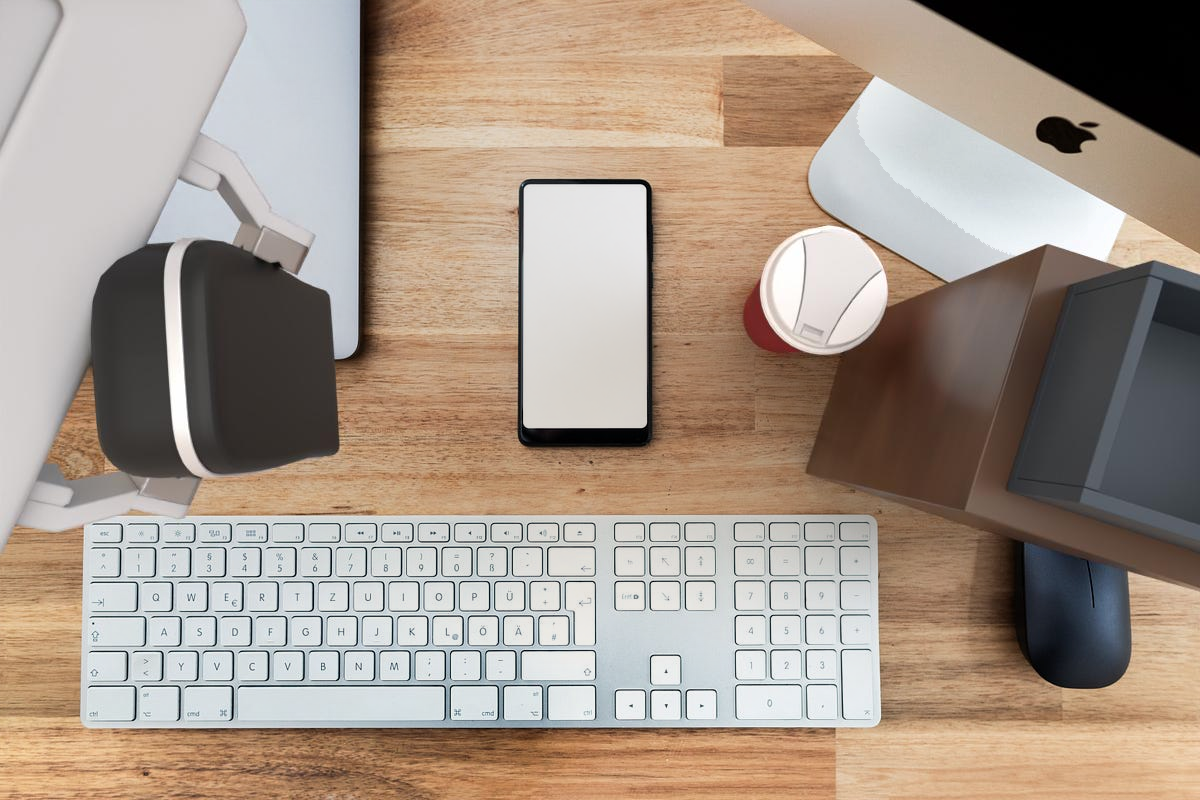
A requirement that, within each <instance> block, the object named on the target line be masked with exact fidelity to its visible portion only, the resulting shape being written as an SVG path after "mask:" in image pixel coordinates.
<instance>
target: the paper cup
mask: <svg viewBox="0 0 1200 800" xmlns="http://www.w3.org/2000/svg"><path fill="white" fill-rule="evenodd" d="M887 301H888V281H887V275H886V272H885V269H884V267H883V265H882V263H881V260H880V259H879V257H878V255H877V254H876V253H875V252H874V250H873V249H872V248H871V246H869V245H868V244H867V243H866V242H865V241H864V240H863V239H862V238H861V237H860V235H858V234H857V233H855V232H853V231H851V230H849V229H848V228H847V229H846V228H845V227H841V226H836V225H828V224H827V225H823V226H819V227H813V228H808V229H805V230H802V231H799V232H797V233H795V234H793V235H791V236H789V237H787V238H786V239H785V240H784V241H781V243H780V244H779V245H778V246H777V247H776V248H775V249H774V250H773V252H772V253H771V255H770V256H769V257H768V259H767V261H766V263H765V265H764V267H763V270H762V275H761V276H760V278H759V279H758V281H757V282H756V284H755V285H754V286H753V288H752V290H751V291H750V292H749V294H748V296H747V298H746V300H745V303H744V306H743V309H742V322H743V326H744V330H745V332H746V334H747V336H748V337H749V339H750V340H751V341H752V342H753V343H754V344H755V345H756V346H757V347H759V348H760V349H762V350H764V351H766V352H768V353H773V354H798V353H809V354H813V355H814V354H815V355H835V354H840V353H843V351H846V350H849V349H851V348H853V347H855V346H857V345H859V344H860V343H861V342H863V341H864V340H865V339H867V338H868V336H869V335H870V334H871V333H872V332H873V331H874V330H875V328H876V327H877V326H878V324H879V322H880V320H881V318H882V316H883V314H884V311H885V308H887V303H888V302H887Z"/></svg>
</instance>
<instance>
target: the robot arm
mask: <svg viewBox="0 0 1200 800" xmlns="http://www.w3.org/2000/svg"><path fill="white" fill-rule="evenodd" d="M246 19H247V18H246V16H245V15H244V12H243V9H242V8H241V5H240V2H239V1H238V0H0V557H1V556H2V554H3V552H4V551H5V548H6V546H7V543H8V541H9V539H10V537H11V535H12V533H13V531H14V528H15V527H16V526H18V527H22V528H29V529H33V530H34V529H35V530H39V531H46V532H50V533H55V534H57V533H61V532H64V531H67V530H71V529H75V528H80V527H81V526H82V527H83V526H86V525H91V524H93V523H94V524H95V523H98V522H102V521H104V520H108V519H112V518H115V517H119V516H123V515H126V514H129V513H130V512H131V510H133V511H138V512H142V513H147V514H152V515H157V516H161V517H166V518H171V519H175V520H182V519H186V516H187V514H188V513H189V510H190V508H191V507H192V503H193V501H194V498H195V496H196V494H197V492H198V489H199V487H200V484H201V482H202V480H203V478H204V477H199V476H188V477H174V478H144V477H138V476H133V475H130V474H127V473H125V472H122V471H121V470H119V471H118V470H117V471H114V472H113V471H112V472H108V473H103V474H98V475H91V476H87V477H81V478H76V479H71V480H67V478H66V476H65V475H64V472H63V471H62V469H61V467H60V466H59V464H57V463H53V462H48V461H47V458H48V456H49V455H50V452H51V449H52V448H53V445H54V443H55V441H56V439H57V437H58V435H59V432H60V430H61V429H62V426H63V425H64V422H65V420H66V418H67V416H68V413H69V411H70V409H71V407H72V405H73V403H74V401H75V399H76V396H77V394H78V392H79V390H80V388H81V385H82V384H83V382H84V379H85V377H86V375H87V373H88V371H89V369H90V366H92V352H91V318H92V302H93V297H94V294H95V291H96V288H97V285H98V282H99V279H100V277H101V275H102V274H103V273H104V272H105V271H106V270H107V269H108V268H109V267H110V266H111V265H112V264H113V263H115V262H116V261H117V260H118V259H120V258H121V257H123V256H126V255H128V254H130V253H132V252H134V251H136V250H138V249H139V248H143V247H145V246H146V245H147V244H149V241H150V239H151V237H152V235H153V232H154V230H155V228H156V226H157V224H158V221H159V220H160V218H161V216H162V213H163V212H164V210H165V207H166V206H167V205H166V204H167V202H168V200H169V199H170V196H171V194H172V192H173V190H174V188H175V186H176V184H177V181H178V180H179V181H181V182H183V183H186V184H188V185H191V186H194V187H196V188H198V189H202V190H204V191H208V192H214V191H217V193H218V194H219V195H220V197H221V198H222V199H223V201H224V202H225V203H226V205H227V206H228V207H229V209H230V210H231V212H232V213H233V215H234V216H235V217H236V219H238V221H239V222H241V223H240V225H239V227H238V229H237V232H236V234H235V236H234V239H233V241H232V245H234V246H237V247H239V248H242V249H244V250H246V251H249V252H250V253H251V254H252V255H254V256H256V257H258V258H260V259H262V260H265V261H267V262H269V263H271V264H273V265H275V266H277V267H279V268H281V269H283V270H285V271H286V272H288V273H290V274H292V275H294V276H295V275H296V276H298V275H299V273H300V272H301V269H302V267H303V265H304V262H305V261H306V258H307V257H308V254H309V252H310V249H311V247H312V246H313V243H314V241H315V239H316V237H317V235H316V234H315V233H314V232H313V231H310V230H309V229H308V228H304V227H303V226H301V225H298V224H296V223H295V222H293V221H290V220H289V219H287V218H285V217H283V216H281V215H279V214H277V213H275V212H274V211H271V210H272V206H271V204H270V202H269V201H268V199H267V198H266V196H265V195H264V193H263V192H262V190H261V188H260V187H259V185H258V184H257V182H256V181H255V179H254V178H253V176H252V174H251V173H250V171H249V170H248V169H247V167H246V166H245V164H244V162H243V161H242V159H241V158H240V156H239V155H238V153H237V152H236V151H235V150H233V149H232V148H230V147H229V146H226V145H224V144H223V143H221V142H219V141H218V140H215V139H214V138H212V137H210V136H208V135H206V134H205V133H202V132H201V130H202V128H203V126H204V124H205V122H206V120H207V117H208V115H209V114H210V111H211V109H212V107H213V105H214V102H215V100H216V98H217V96H218V94H219V92H220V90H221V88H222V85H223V83H224V81H225V79H226V77H227V74H228V72H229V70H230V68H231V66H232V64H233V62H234V60H235V57H236V55H237V53H238V51H239V49H240V47H241V45H242V44H243V42H244V39H245V36H246V33H247V29H248V25H247V20H246Z"/></svg>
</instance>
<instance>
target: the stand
mask: <svg viewBox="0 0 1200 800" xmlns="http://www.w3.org/2000/svg"><path fill="white" fill-rule="evenodd" d="M1125 268H1126V267H1125ZM1125 268H1124V267H1122V266H1118V265H1116V264H1113V263H1109V262H1107V261H1103V260H1100V259H1097V258H1093V257H1091V256H1087V255H1084V254H1082V253H1078V252H1075V251H1071V250H1069V249H1065V248H1063V247H1060V246H1056V245H1053V244H1050V243H1045V244H1043V245H1040V246H1038V247H1036V248H1033V249H1030V250H1028V251H1025V252H1022V253H1021V254H1017V255H1015V256H1013V257H1009V258H1008V259H1005V260H1003V261H1000V262H998V263H995V264H992V265H990V266H988V267H985V268H981V269H980V270H977V271H974V272H972V273H970V274H968V275H965V276H962V277H960V278H957V279H954V280H953V281H950V282H947V283H945V284H942V285H940V286H938V287H935V288H932V289H930V290H927V291H925V292H922V293H920V294H917V295H914V296H912V297H909V298H907V299H905V300H902V301H900V302H897V303H895V304H894V303H893V304H892V305H889V306H886V307H885V311H884V314H883V316H882V318H881V320H880V322H879V324H878V326H877V327H876V328H875V330H874V331H873V332H872V333H871V334H870V335H869V336H868V338H867V339H865V340H864V341H863V342H861V343H860V344H859V345H857V346H855V347H853V348H851V349H849V350H846V351H843V352H842V355H841V357H840V361H839V364H838V368H837V371H836V374H835V377H834V380H833V383H832V386H831V389H830V393H829V395H828V396H829V397H828V400H827V403H826V405H825V409H824V412H823V415H822V418H821V421H820V425H819V428H818V430H817V434H816V437H815V441H814V443H813V446H812V450H811V453H810V456H809V459H808V462H807V465H806V469H805V474H807V475H809V476H813V477H816V478H819V479H822V480H825V481H828V482H831V483H834V484H837V485H840V486H844V487H846V488H850V489H853V490H856V491H859V492H863V493H864V494H865V493H866V494H868V495H871V496H875V497H878V498H881V499H884V500H887V501H889V502H890V501H891V502H893V503H896V504H899V505H903V506H906V507H908V508H912V509H914V510H918V511H920V512H924V513H927V514H931V515H934V516H937V517H939V518H943V519H946V520H949V521H952V522H954V523H958V524H961V525H965V526H967V527H970V528H973V529H976V530H980V531H984V532H986V533H990V534H994V535H997V536H1001V537H1004V538H1008V539H1012V540H1015V541H1018V542H1021V543H1024V544H1029V545H1033V546H1036V547H1040V548H1043V549H1047V550H1051V551H1054V552H1058V553H1060V554H1061V553H1062V554H1065V555H1068V556H1072V557H1075V558H1079V559H1082V560H1086V561H1090V562H1094V563H1097V564H1100V565H1104V566H1108V567H1110V568H1114V569H1117V570H1121V571H1126V572H1129V573H1133V574H1134V575H1135V574H1136V575H1139V576H1142V577H1147V578H1150V579H1154V580H1157V581H1160V582H1165V583H1168V584H1171V585H1175V586H1178V587H1182V588H1186V589H1189V590H1192V591H1196V592H1199V593H1200V553H1197V552H1194V551H1191V550H1188V549H1185V548H1182V547H1178V546H1175V545H1172V544H1169V543H1166V542H1163V541H1160V540H1157V539H1154V538H1151V537H1147V536H1144V535H1141V534H1138V533H1135V532H1132V531H1129V530H1126V529H1123V528H1120V527H1116V526H1113V525H1110V524H1107V523H1104V522H1101V521H1098V520H1095V519H1092V518H1089V517H1085V516H1082V515H1079V514H1076V513H1073V512H1070V511H1067V510H1064V509H1061V508H1057V507H1054V506H1051V505H1048V504H1045V503H1042V502H1039V501H1036V500H1033V499H1030V498H1026V497H1023V496H1020V495H1017V494H1014V493H1011V492H1008V491H1006V488H1007V485H1008V482H1009V479H1010V475H1011V472H1012V469H1013V466H1014V462H1015V459H1016V456H1017V453H1018V449H1019V446H1020V443H1021V440H1022V437H1023V433H1024V430H1025V427H1026V424H1027V420H1028V417H1029V414H1030V411H1031V407H1032V404H1033V401H1034V398H1035V395H1036V391H1037V388H1038V385H1039V382H1040V378H1041V375H1042V372H1043V369H1044V365H1045V362H1046V359H1047V356H1048V353H1049V349H1050V346H1051V343H1052V340H1053V336H1054V333H1055V330H1056V327H1057V323H1058V320H1059V317H1060V314H1061V311H1062V307H1063V304H1064V301H1065V298H1066V294H1067V291H1068V288H1069V285H1070V284H1073V283H1078V282H1080V281H1084V280H1087V279H1090V278H1094V277H1097V276H1101V275H1104V274H1108V273H1111V272H1114V271H1118V270H1121V269H1125Z"/></svg>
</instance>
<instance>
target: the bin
mask: <svg viewBox="0 0 1200 800" xmlns="http://www.w3.org/2000/svg"><path fill="white" fill-rule="evenodd" d="M1006 491H1008V492H1011V493H1014V494H1017V495H1020V496H1023V497H1026V498H1030V499H1033V500H1036V501H1039V502H1042V503H1045V504H1048V505H1051V506H1054V507H1057V508H1061V509H1064V510H1067V511H1070V512H1073V513H1076V514H1079V515H1082V516H1085V517H1089V518H1092V519H1095V520H1098V521H1101V522H1104V523H1107V524H1110V525H1113V526H1116V527H1120V528H1123V529H1126V530H1129V531H1132V532H1135V533H1138V534H1141V535H1144V536H1147V537H1151V538H1154V539H1157V540H1160V541H1163V542H1166V543H1169V544H1172V545H1175V546H1178V547H1182V548H1185V549H1188V550H1191V551H1194V552H1197V553H1200V274H1199V273H1196V272H1193V271H1190V270H1187V269H1185V268H1180V267H1178V266H1174V265H1171V264H1169V263H1165V262H1161V261H1159V260H1156V259H1152V260H1150V261H1149V260H1148V261H1145V262H1142V263H1139V264H1136V265H1131V266H1129V267H1125V269H1121V270H1118V271H1114V272H1111V273H1108V274H1104V275H1101V276H1097V277H1094V278H1090V279H1087V280H1084V281H1080V282H1078V283H1073V284H1070V285H1069V288H1068V291H1067V294H1066V298H1065V301H1064V304H1063V307H1062V311H1061V314H1060V317H1059V320H1058V323H1057V327H1056V330H1055V333H1054V336H1053V340H1052V343H1051V346H1050V349H1049V353H1048V356H1047V359H1046V362H1045V365H1044V369H1043V372H1042V375H1041V378H1040V382H1039V385H1038V388H1037V391H1036V395H1035V398H1034V401H1033V404H1032V407H1031V411H1030V414H1029V417H1028V420H1027V424H1026V427H1025V430H1024V433H1023V437H1022V440H1021V443H1020V446H1019V449H1018V453H1017V456H1016V459H1015V462H1014V466H1013V469H1012V472H1011V475H1010V479H1009V482H1008V485H1007V488H1006Z"/></svg>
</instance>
